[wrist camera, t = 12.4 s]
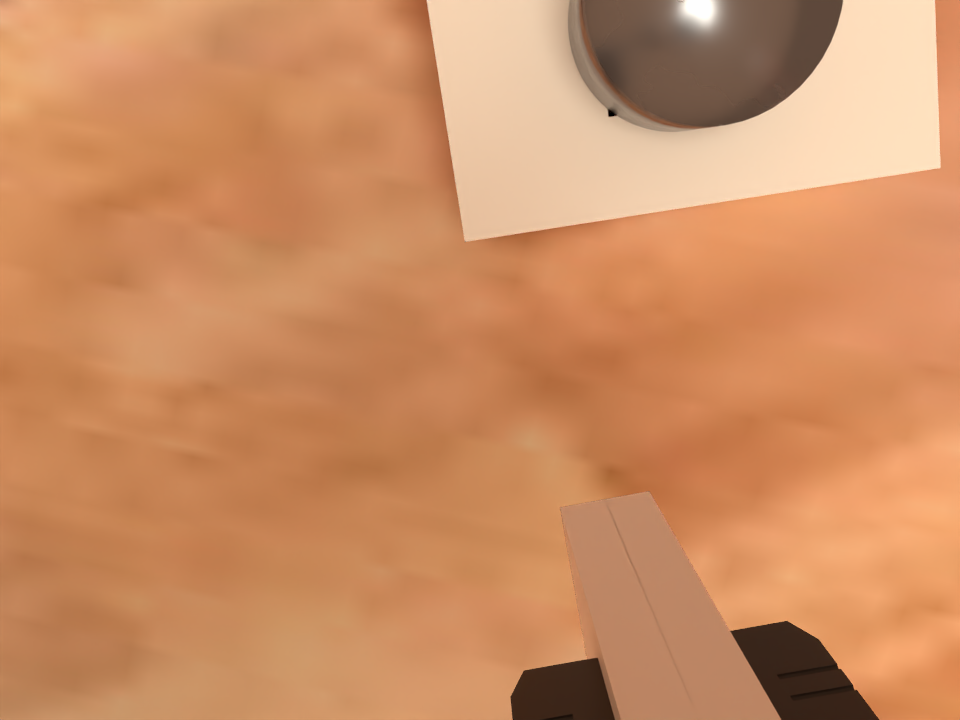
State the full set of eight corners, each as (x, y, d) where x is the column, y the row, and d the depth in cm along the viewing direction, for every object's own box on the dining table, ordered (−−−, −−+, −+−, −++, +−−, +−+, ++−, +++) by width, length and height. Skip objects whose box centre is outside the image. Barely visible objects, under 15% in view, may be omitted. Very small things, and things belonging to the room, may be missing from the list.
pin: (566, 149, 34) (601, 145, 24) (541, -41, 32) (568, -128, 23) (744, 121, 34) (852, 104, 24) (728, -72, 32) (836, -173, 22)
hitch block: (467, 228, 35) (464, 241, 29) (417, -90, 32) (403, -146, 27) (862, 166, 34) (940, 167, 29) (844, -163, 32) (926, -236, 26)
